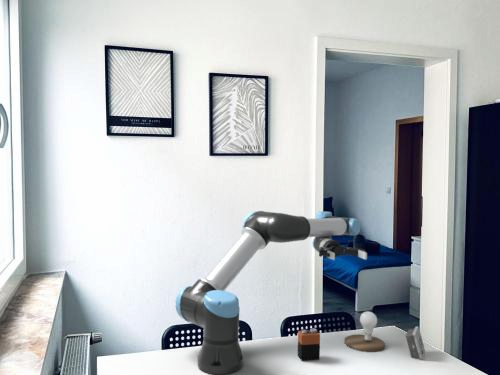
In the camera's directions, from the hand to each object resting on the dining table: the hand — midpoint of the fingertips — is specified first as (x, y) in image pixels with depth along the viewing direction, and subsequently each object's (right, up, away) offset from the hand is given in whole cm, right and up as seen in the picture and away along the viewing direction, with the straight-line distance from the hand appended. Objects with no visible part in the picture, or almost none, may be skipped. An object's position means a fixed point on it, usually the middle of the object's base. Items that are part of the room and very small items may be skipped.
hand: (350, 256), depth 170 cm
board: (+4, -32, -8) cm, 33 cm away
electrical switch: (+20, -33, -17) cm, 42 cm away
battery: (-20, -32, -22) cm, 43 cm away
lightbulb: (+5, -31, -8) cm, 32 cm away
